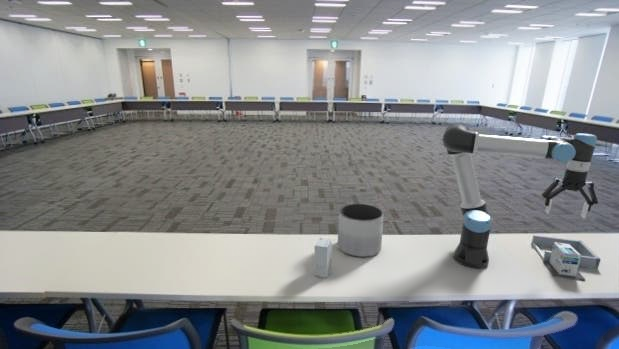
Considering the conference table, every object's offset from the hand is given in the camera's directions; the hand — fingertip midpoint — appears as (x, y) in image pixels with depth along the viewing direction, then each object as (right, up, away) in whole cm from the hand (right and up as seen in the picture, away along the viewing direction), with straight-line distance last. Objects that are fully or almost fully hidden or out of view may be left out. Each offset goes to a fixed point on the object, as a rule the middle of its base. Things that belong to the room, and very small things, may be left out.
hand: (564, 215), depth 147 cm
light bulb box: (0, -25, +2) cm, 25 cm away
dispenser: (+10, -22, +15) cm, 28 cm away
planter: (-90, -19, +20) cm, 94 cm away
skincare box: (-109, -26, -1) cm, 112 cm away
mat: (+1, -26, +2) cm, 26 cm away
